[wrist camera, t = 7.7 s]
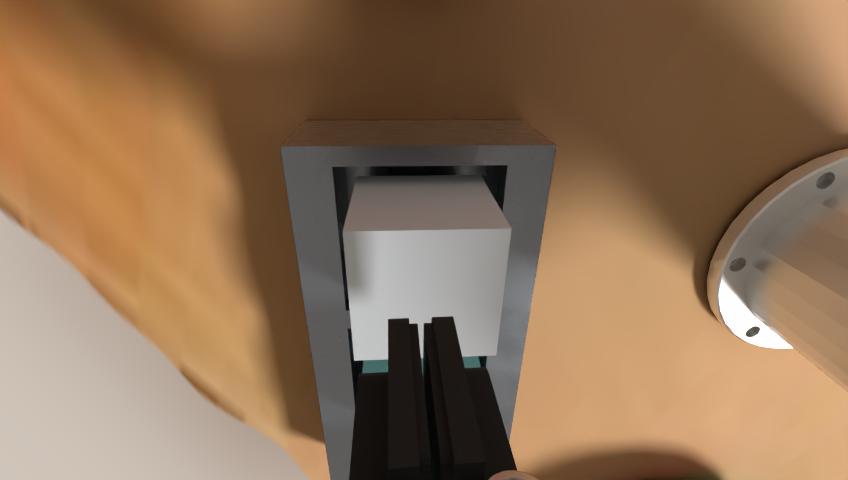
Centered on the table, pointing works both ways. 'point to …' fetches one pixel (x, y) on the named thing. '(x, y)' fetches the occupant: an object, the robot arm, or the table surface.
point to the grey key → (425, 259)
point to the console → (406, 156)
